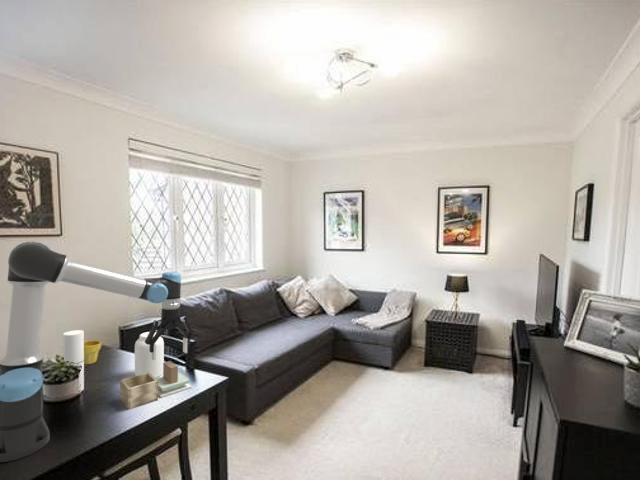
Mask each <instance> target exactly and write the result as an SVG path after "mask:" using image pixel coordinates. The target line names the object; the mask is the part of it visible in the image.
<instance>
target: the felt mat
mask: <svg viewBox="0 0 640 480" xmlns="http://www.w3.org/2000/svg"><path fill="white" fill-rule="evenodd" d="M190 389H192V385H191V384H189V383H187V384H184V387H180V388H177V389H174V390H171V391H168V392H165V393H164V392H163V391H161V390H160V389H159V388H158V398H160V399H161V398H166V397H168V396H172V395H175V394H178V393H181V392H185V391H187V390H190Z"/></svg>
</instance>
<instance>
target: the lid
mask: <svg viewBox="0 0 640 480" xmlns="http://www.w3.org/2000/svg"><path fill="white" fill-rule="evenodd" d="M178 368H179V366H178V365H177V364H176V363H174V362H173V361H171V360H168V361H164V363H163V374H162V376H159V377H157V378H155V379H156V380H158V388H159V389H160V390H161V391H163V392H164V393H165V392H168V391H171V390H174V389H177V388H180V387H184V384H189V383H190V380H189V379H188V378H187V377H185V376H184V375H182V374H181V373H179V371H178V370H179V369H178Z"/></svg>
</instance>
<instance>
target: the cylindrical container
mask: <svg viewBox="0 0 640 480" xmlns="http://www.w3.org/2000/svg"><path fill="white" fill-rule="evenodd" d="M84 332H85V330H81V329H79V330H77V329H76V330H70V331H65V332H64V333H63V335H62V338H63V339H62V340H63V341H62V343H63V345H62V347H63V350H62V353H63V356H62V357H63V358H64V360H66V361H69V362H74V363H77V364H79V365H81V366H82V369H81V371H80V384H81V391H80V392H79V393H81V392H82V391H84V389H85V370H84V369H85V367H84V366H85V364H84V342H85V339H84V338H85V334H84Z"/></svg>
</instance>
